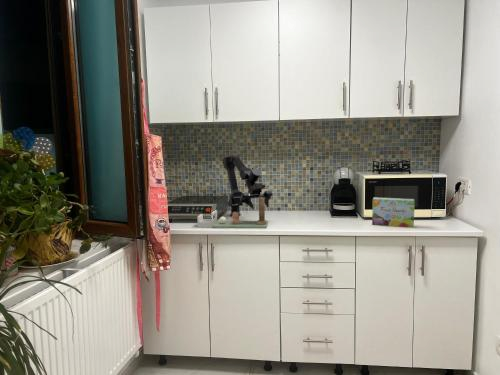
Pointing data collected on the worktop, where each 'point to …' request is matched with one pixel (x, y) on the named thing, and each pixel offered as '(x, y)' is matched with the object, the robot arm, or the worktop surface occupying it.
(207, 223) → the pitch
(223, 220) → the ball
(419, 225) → the worktop surface
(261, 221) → the post with bar block
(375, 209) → the snack box
